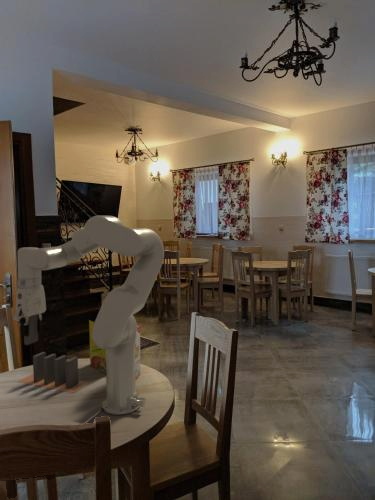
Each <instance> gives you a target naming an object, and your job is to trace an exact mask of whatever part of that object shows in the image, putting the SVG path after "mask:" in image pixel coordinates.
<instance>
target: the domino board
mask: <svg viewBox="0 0 375 500" xmlns="http://www.w3.org/2000/svg"><path fill="white" fill-rule="evenodd" d="M17 383H19V384H20V383H21V384H26V385H31V386H37V387H42V388H45V389H51V390H52V389H53V390H57V391H62V392H68V393H73V394H74V393H76V392H78V391H79V390H80V389H81V388H83V387H85V386H87V385H88V384H89V382H87V381H80V380H78V384H77V385H75V386H74V387H72V388H70V389H67V388H66V383H64V384H63V385H61V386H59V387H56V386H55V381H54V382H52V383H50V384H48V385H46V384H44V379H43V380H41V381H40V382H38V383H36V382H34V374H33V373H32V374H30V375H28V376H26V377H24V378H22V379H20V380H18V381H17Z"/></svg>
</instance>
